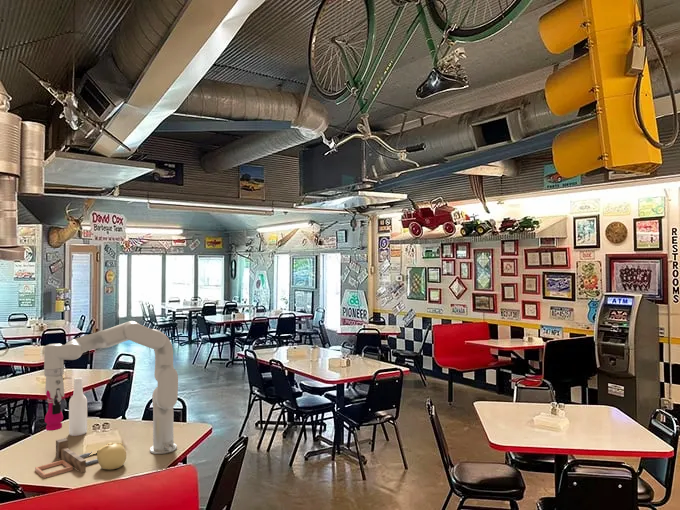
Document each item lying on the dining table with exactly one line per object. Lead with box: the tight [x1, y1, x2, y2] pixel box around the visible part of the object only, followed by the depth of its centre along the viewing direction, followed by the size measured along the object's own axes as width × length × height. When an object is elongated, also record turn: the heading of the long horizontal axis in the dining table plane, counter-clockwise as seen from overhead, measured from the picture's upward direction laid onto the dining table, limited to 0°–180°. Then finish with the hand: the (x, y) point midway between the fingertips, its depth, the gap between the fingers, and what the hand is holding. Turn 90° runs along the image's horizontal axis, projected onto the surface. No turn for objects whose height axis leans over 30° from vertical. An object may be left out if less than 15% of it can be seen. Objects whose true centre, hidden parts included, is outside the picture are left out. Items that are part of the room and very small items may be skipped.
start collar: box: [78, 451, 99, 467], centre depth 235 cm, size 12×12×2 cm
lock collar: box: [34, 459, 74, 479], centre depth 223 cm, size 12×12×2 cm
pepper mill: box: [44, 390, 64, 432], centre depth 224 cm, size 7×7×20 cm
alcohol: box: [68, 376, 88, 437], centre depth 272 cm, size 9×9×30 cm
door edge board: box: [55, 437, 87, 474], centre depth 231 cm, size 28×4×8 cm, turn 48°
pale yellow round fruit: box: [96, 442, 127, 470], centre depth 227 cm, size 11×12×11 cm
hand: (54, 411), depth 224 cm, fingers closed on pepper mill, 5 cm apart
